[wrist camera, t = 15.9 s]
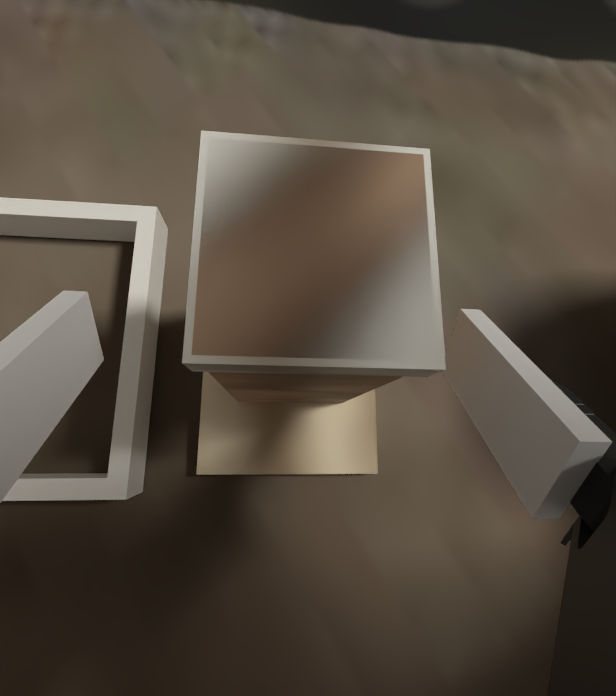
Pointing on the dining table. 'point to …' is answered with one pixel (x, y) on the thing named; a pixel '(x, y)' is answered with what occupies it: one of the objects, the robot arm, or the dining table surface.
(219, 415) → the board
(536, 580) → the dining table surface
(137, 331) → the white rectangular frame
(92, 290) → the dining table surface
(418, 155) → the canister
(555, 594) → the dining table surface
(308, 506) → the dining table surface
